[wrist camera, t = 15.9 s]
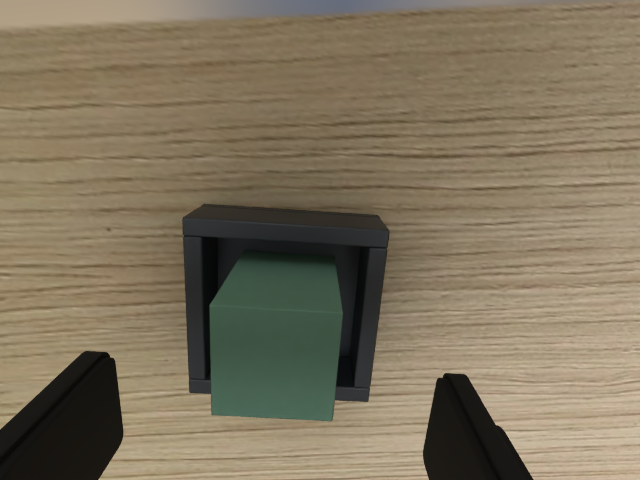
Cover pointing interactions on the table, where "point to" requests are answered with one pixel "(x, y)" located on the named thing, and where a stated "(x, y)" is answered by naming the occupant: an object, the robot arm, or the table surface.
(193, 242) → the socket
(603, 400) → the table surface
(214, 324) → the pad block
